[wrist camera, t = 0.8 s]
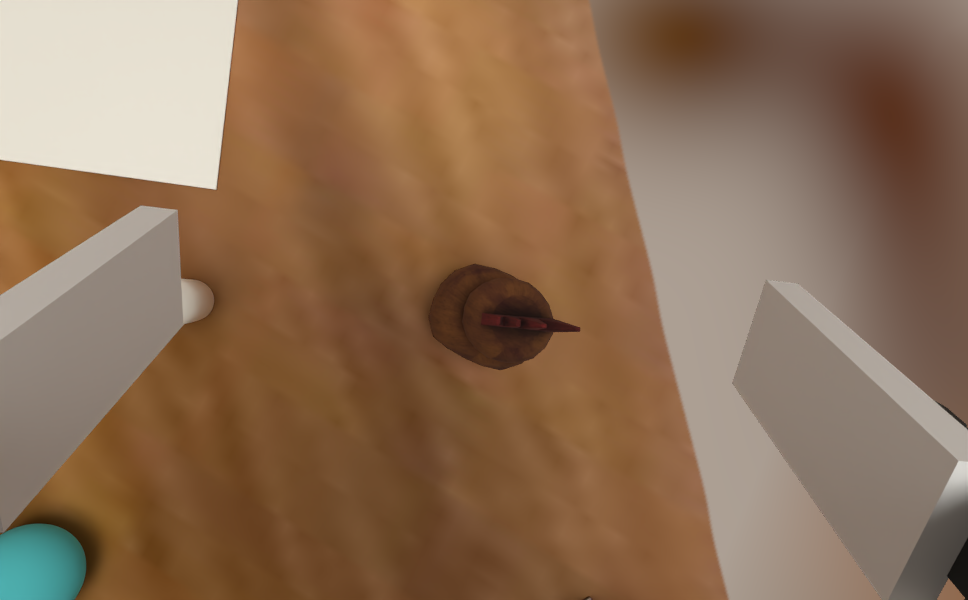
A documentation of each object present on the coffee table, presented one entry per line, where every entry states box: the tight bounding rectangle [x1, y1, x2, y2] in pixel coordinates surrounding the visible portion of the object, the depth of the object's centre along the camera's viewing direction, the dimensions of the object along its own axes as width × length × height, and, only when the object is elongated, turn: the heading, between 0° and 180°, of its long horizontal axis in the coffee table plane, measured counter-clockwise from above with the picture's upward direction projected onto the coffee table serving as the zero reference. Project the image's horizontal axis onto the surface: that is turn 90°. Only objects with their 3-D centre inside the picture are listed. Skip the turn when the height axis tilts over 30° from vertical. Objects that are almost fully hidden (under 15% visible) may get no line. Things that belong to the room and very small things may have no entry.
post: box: [181, 279, 214, 324], centre depth 38 cm, size 3×3×9 cm
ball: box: [0, 524, 86, 600], centre depth 38 cm, size 6×6×6 cm
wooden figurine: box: [429, 264, 580, 370], centre depth 39 cm, size 7×6×15 cm
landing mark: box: [0, 0, 238, 190], centre depth 40 cm, size 14×14×1 cm
